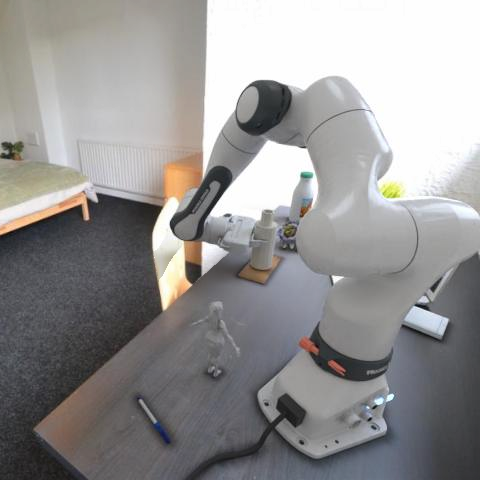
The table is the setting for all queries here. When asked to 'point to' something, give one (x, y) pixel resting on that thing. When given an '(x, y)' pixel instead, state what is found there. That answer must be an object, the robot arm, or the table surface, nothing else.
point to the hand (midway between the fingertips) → (267, 237)
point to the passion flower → (288, 233)
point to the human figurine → (216, 335)
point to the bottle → (266, 231)
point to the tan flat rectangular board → (258, 271)
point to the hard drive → (426, 322)
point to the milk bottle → (302, 197)
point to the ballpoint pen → (154, 421)
